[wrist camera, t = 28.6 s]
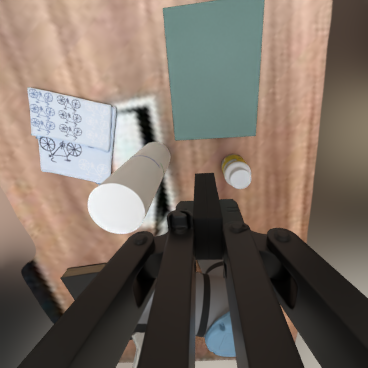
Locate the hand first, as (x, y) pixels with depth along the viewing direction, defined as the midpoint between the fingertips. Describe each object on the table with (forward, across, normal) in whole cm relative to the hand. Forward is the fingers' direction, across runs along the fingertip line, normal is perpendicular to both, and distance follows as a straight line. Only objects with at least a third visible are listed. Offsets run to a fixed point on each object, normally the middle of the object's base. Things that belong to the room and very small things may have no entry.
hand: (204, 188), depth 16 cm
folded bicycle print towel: (+31, +30, 0) cm, 43 cm away
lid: (+23, -2, -10) cm, 26 cm away
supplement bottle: (+31, -7, +8) cm, 32 cm away
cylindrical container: (+31, +11, +5) cm, 33 cm away
